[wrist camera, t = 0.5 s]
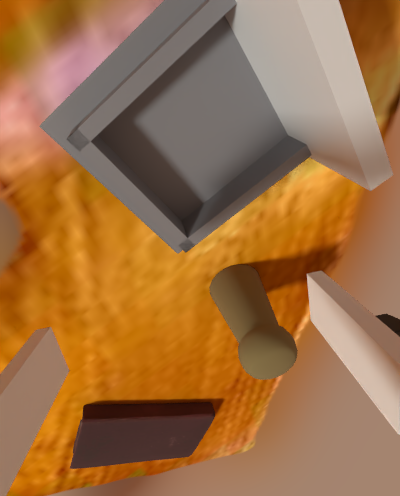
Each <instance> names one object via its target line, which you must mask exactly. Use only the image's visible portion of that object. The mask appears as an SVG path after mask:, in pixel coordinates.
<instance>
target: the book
mask: <svg viewBox="0 0 400 496" xmlns="http://www.w3.org/2000/svg"><path fill="white" fill-rule="evenodd" d="M214 417H215V411H214V409H213V405H212V403H207V402H205V403H167V404H114V405H84V407H83V418H82V420H81V421H80V425H79V428H78V432H77V436H76V440H75V444H74V448H73V453H74V455H73V458H72V462H71V466H70V468H71V469H77V468H89V467H99V466H108V465H116V464H124V463H133V462H142V461H151V460H162V459H172V458H182V457H189V456H190V455H191V454H192V453H193V452H194V450H195V449H196V448H197V446H198V444H199V442H200V441H201V440H202V438H203V436H204V435H205V433H206V431H207V430H208V428H209V427H210V425H211V423H212V421H213V419H214Z"/></svg>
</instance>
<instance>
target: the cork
mask: <svg viewBox="0 0 400 496" xmlns="http://www.w3.org/2000/svg"><path fill="white" fill-rule="evenodd" d="M210 294H211V296H212V298H213V300H214V302H215V303H216V305H217V307H218V308H219V310H220V312H221V314H222V315H223V317H224V319H225V320H226V322H227V324H228V325H229V327H230V329H231V330H232V332H233V334H234V336H235V337H236V339H237V341H238V342H239V346H238V354H239V359H240V362H241V364H242V366H243V368H244V369H245V371H246V372H247V373H248V374H250V375H251V376H252V377H254V378H256V379H272V378H276V377H278V376H280V375H282V374H284V373H285V372H287V371H288V370H289V369H290V368H291V367H292V366H293V364H294V363H295V361H296V358H297V348H296V344H295V341H294V339H293V337H292V336H291V334H290V333H289V332H287V331H286V330H285V329H284V328H283V327H281V326H279V325H278V322H277V320H276V317H275V315H274V312H273V310H272V307H271V305H270V302H269V300H268V297H267V295H266V292H265V289H264V287H263V284H262V282H261V279H260V277H259V274H258V272H257V271H256V270H255V269H254V268H253V267H251V266H248V265H242V264H238V265H233V266H230V267H227V268H225V269H223V270H222V271H221V272H219V273H218V274H217V275H216V276H215V277H214V279H213V280H212V282H211V285H210Z"/></svg>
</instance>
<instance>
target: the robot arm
mask: <svg viewBox="0 0 400 496" xmlns="http://www.w3.org/2000/svg"><path fill="white" fill-rule="evenodd" d="M307 282H308V293H309V305H310V316H311V321H312V322H313V324H314V325H315V326H316V328H317V329H318V330H319V332H320V333H321V334H322V335H323V337H324V338H325V339H326V341H327V342H328V343H329V345H330V346H331V347H332V349H333V350H334V351H335V352H336V353H337V355H338V356H339V358H340V359H341V360H342V362H343V363H344V364H345V366H346V367H347V368H348V369H349V371H350V372H351V373H352V375H353V376H354V377H355V379H356V380H357V381H358V382H359V384H360V385H361V386H362V388H363V389H364V390H365V392H366V393H367V394H368V396H369V397H370V398H371V400H372V401H373V402H374V403H375V405H376V406H377V407H378V409H379V410H380V411H381V413H382V414H383V415H384V416H385V418H386V419H387V420H388V422H389V423H390V424H391V426H392V427H393V428H394V430H395V431H396V432H397V433H398V434H400V319H398V318H395V317H393V316H391V315H388V314H382V315H378V316H374V315H373V314H372V313H371V312H370V311H369V310H367V309H366V308H365V307H364V306H363V305H362V304H360V303H359V302H358V301H357V300H356V299H354V298H353V297H352V296H351V295H350V294H349V293H347V292H346V291H345V290H344V289H343V288H342V287H340V286H339V285H338V284H337V283H336V282H335V281H333V280H332V279H331V278H330V277H329V276H328V275H326V274H325V273H324V272H323V271H317V272H312V273H308V274H307ZM68 372H69V369H68V366H67V364H66V362H65V359H64V357H63V355H62V352H61V350H60V347H59V345H58V343H57V340H56V338H55V336H54V333H53V331H52V329H51V327H48V328H43V329H39V330H36V331H35V332H34V333H33V334H32V336H31V337H30V338H29V339H28V341H27V342H26V343H25V344H24V345H23V347H22V348H21V349H20V350H19V352H18V353H17V354H16V355H15V357H14V358H13V359H12V360H11V362H10V363H9V364H8V365H7V367H6V368H5V369H4V370H3V372H2V373H1V374H0V496H6V495H7V493H8V491H9V489H10V487H11V485H12V483H13V481H14V479H15V477H16V475H17V473H18V471H19V469H20V467H21V465H22V463H23V461H24V459H25V457H26V455H27V453H28V451H29V449H30V447H31V445H32V443H33V441H34V439H35V437H36V435H37V433H38V431H39V429H40V427H41V425H42V424H43V422H44V420H45V418H46V416H47V414H48V412H49V410H50V408H51V406H52V404H53V402H54V400H55V398H56V396H57V394H58V392H59V390H60V388H61V386H62V384H63V382H64V380H65V378H66V376H67V374H68Z"/></svg>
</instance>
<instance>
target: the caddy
mask: <svg viewBox="0 0 400 496" xmlns="http://www.w3.org/2000/svg"><path fill="white" fill-rule="evenodd" d="M40 127H41V128H42V129H43V130H44V131H45V132H46V133H47V134H48V135H49V136H50V137H52V138H53V139H54V140H55V141H56V142H57V143H58V144H59V145H60V146H61V147H62V148H63V149H65V150H66V151H67V152H68V153H69V154H70V155H71V156H72V157H73V158H74V159H75V160H77V161H78V162H79V163H80V164H81V165H82V166H83V167H84V168H85V169H86V170H87V171H88V172H90V173H91V174H92V175H93V176H94V177H95V178H96V179H97V180H98V181H99V182H100V183H102V184H103V185H104V186H105V187H106V188H107V189H108V190H109V191H110V192H111V193H112V194H113V195H115V196H116V197H117V198H118V199H119V200H120V201H121V202H122V203H123V204H124V205H125V206H126V207H128V208H129V209H130V210H131V211H132V212H133V213H134V214H135V215H136V216H137V217H138V218H140V219H141V220H142V221H143V222H144V223H145V224H146V225H147V226H148V227H149V228H150V229H151V230H153V231H154V232H155V233H156V234H157V235H158V236H159V237H160V238H161V239H162V240H163V241H165V242H166V243H167V244H168V245H169V246H170V247H171V248H172V249H173V250H174V251H175V252H176V253H179V252H181V251H182V250H184V251H185V252H187V251H189V250H190V249H191V248H192V247H194V246H195V245H196V244H198V243H199V242H200V241H201V240H203V239H204V238H205V237H207V236H208V235H209V234H210V233H212V232H213V231H214V230H216V229H217V228H218V227H219V226H221V225H222V224H223V223H225V222H226V221H227V220H229V219H230V218H231V217H232V216H234V215H235V214H236V213H238V212H239V211H240V210H241V209H243V208H244V207H245V206H247V205H248V204H249V203H250V202H252V201H253V200H254V199H256V198H257V197H258V196H259V195H261V194H262V193H263V192H265V191H266V190H267V189H268V188H270V187H271V186H272V185H274V184H275V183H276V182H278V181H279V180H280V179H281V178H283V177H284V176H285V175H287V174H288V173H289V172H290V171H292V170H293V169H294V168H296V167H297V166H298V165H299V164H301V163H302V162H303V161H305V160H306V159H307V158H308V157H310V158H312V159H314V160H316V161H317V162H319V163H321V164H323V165H325V166H326V167H328V168H330V169H332V170H334V171H335V172H337V173H339V174H341V175H343V176H344V177H346V178H348V179H350V180H352V181H354V182H355V183H357V184H359V185H361V186H363V187H364V188H366V189H368V190H370V191H371V190H373V189H374V188H376V187H377V186H378V185H380V184H381V183H382V182H384V181H385V180H387V179H388V178H390V177H391V176H392V175H393V172H392V169H391V166H390V163H389V159H388V156H387V153H386V150H385V147H384V143H383V140H382V137H381V134H380V131H379V127H378V124H377V121H376V118H375V115H374V111H373V108H372V105H371V102H370V99H369V95H368V92H367V89H366V86H365V83H364V79H363V76H362V73H361V70H360V67H359V63H358V60H357V57H356V54H355V51H354V47H353V44H352V41H351V38H350V35H349V31H348V28H347V25H346V22H345V19H344V15H343V12H342V9H341V6H340V3H339V0H164V1H163V2H162V3H161V4H160V5H159V6H158V7H157V8H156V9H155V10H154V11H153V12H152V13H151V14H150V15H149V16H148V17H147V18H146V19H145V20H144V21H143V22H142V23H141V24H140V25H139V26H138V27H137V28H136V29H135V30H134V31H133V32H132V33H131V34H130V36H129V37H128V38H127V39H126V40H125V41H124V42H123V43H122V44H121V45H120V46H119V47H118V48H117V49H116V50H115V51H114V52H113V53H112V54H111V55H110V56H109V57H108V58H107V59H106V60H105V61H104V62H103V63H102V64H101V65H100V66H99V67H98V68H97V69H96V70H95V71H94V72H93V73H92V74H91V75H90V76H89V77H88V78H87V79H86V80H85V81H84V82H83V83H82V84H81V85H80V86H79V87H78V88H77V89H76V90H75V91H74V92H73V93H72V94H71V95H70V96H69V97H68V98H67V99H66V100H65V101H64V102H63V103H62V104H61V105H60V106H59V107H58V108H57V109H56V110H55V111H54V112H53V113H52V114H51V115H50V116H49V117H48V118H47V119H46V120H45V121H44V122H43V123H42V124H41V125H40Z"/></svg>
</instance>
